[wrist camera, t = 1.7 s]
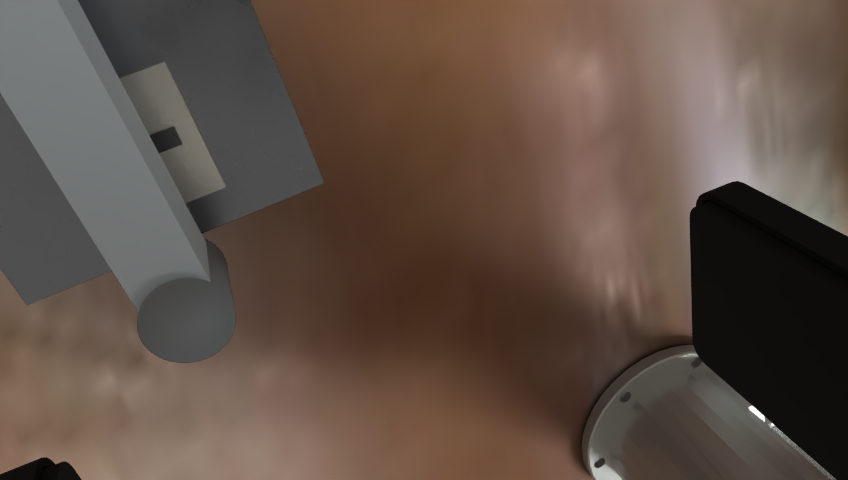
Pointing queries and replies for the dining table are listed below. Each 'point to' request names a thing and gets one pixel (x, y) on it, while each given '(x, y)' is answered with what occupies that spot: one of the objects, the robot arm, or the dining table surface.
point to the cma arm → (114, 177)
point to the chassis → (164, 133)
